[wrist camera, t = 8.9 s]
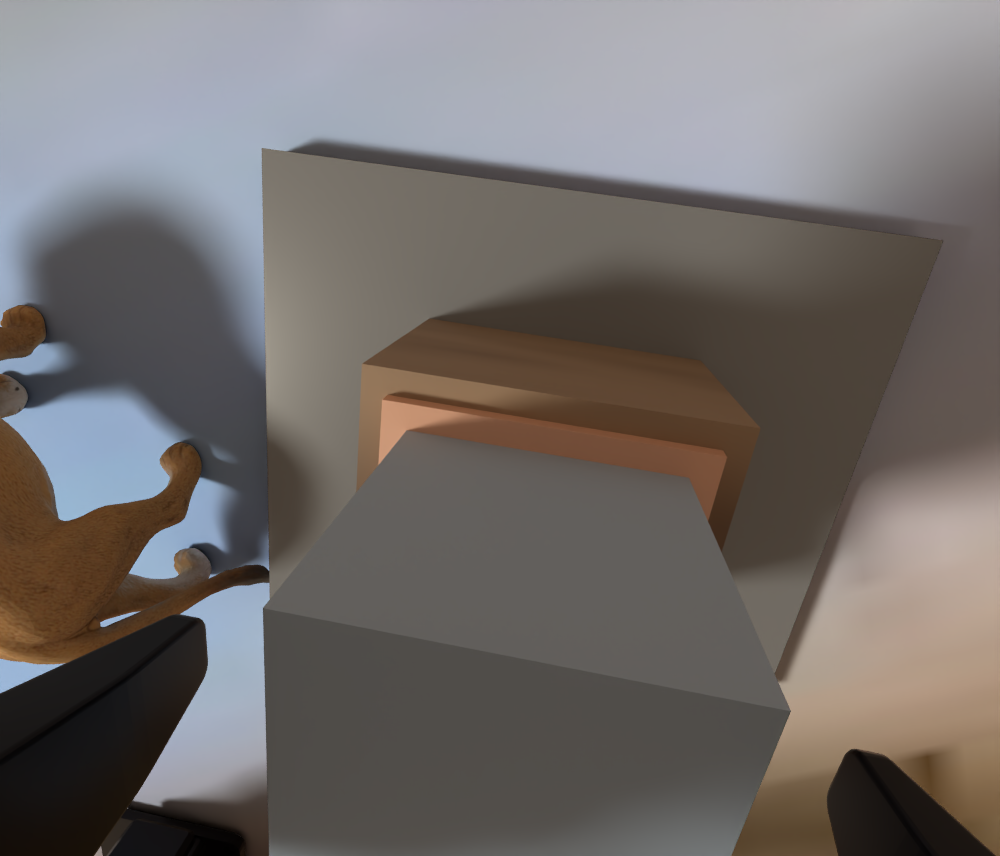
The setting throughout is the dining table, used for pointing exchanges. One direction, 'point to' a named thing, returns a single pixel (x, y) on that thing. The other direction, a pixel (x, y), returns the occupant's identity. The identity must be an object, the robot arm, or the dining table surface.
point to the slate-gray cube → (514, 667)
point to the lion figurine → (84, 543)
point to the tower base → (582, 284)
